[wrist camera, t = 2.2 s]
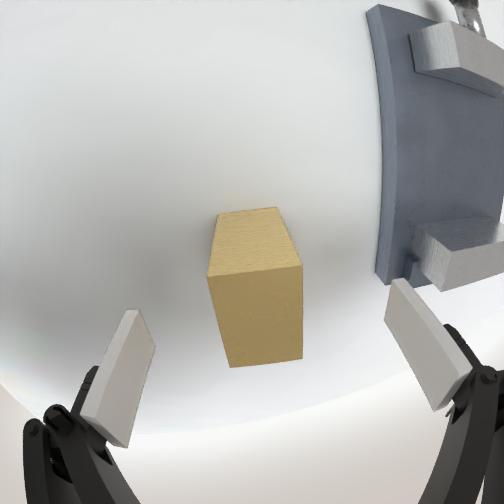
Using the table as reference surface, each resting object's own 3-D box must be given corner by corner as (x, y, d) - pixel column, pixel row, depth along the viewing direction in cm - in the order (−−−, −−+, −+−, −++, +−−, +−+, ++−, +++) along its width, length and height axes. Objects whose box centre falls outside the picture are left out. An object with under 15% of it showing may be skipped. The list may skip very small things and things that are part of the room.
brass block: (231, 287, 21) (230, 367, 14) (218, 214, 18) (206, 276, 11) (282, 280, 21) (302, 358, 14) (276, 206, 18) (302, 265, 11)
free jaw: (415, 72, 12) (459, 66, 8) (390, -29, 8) (422, -50, 4) (496, 98, 12) (534, 103, 8) (479, 11, 8) (512, 6, 4)
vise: (375, 272, 21) (411, 321, 15) (365, 12, 12) (413, -18, 6) (478, 252, 21) (516, 283, 15) (485, 54, 12) (533, 53, 6)
